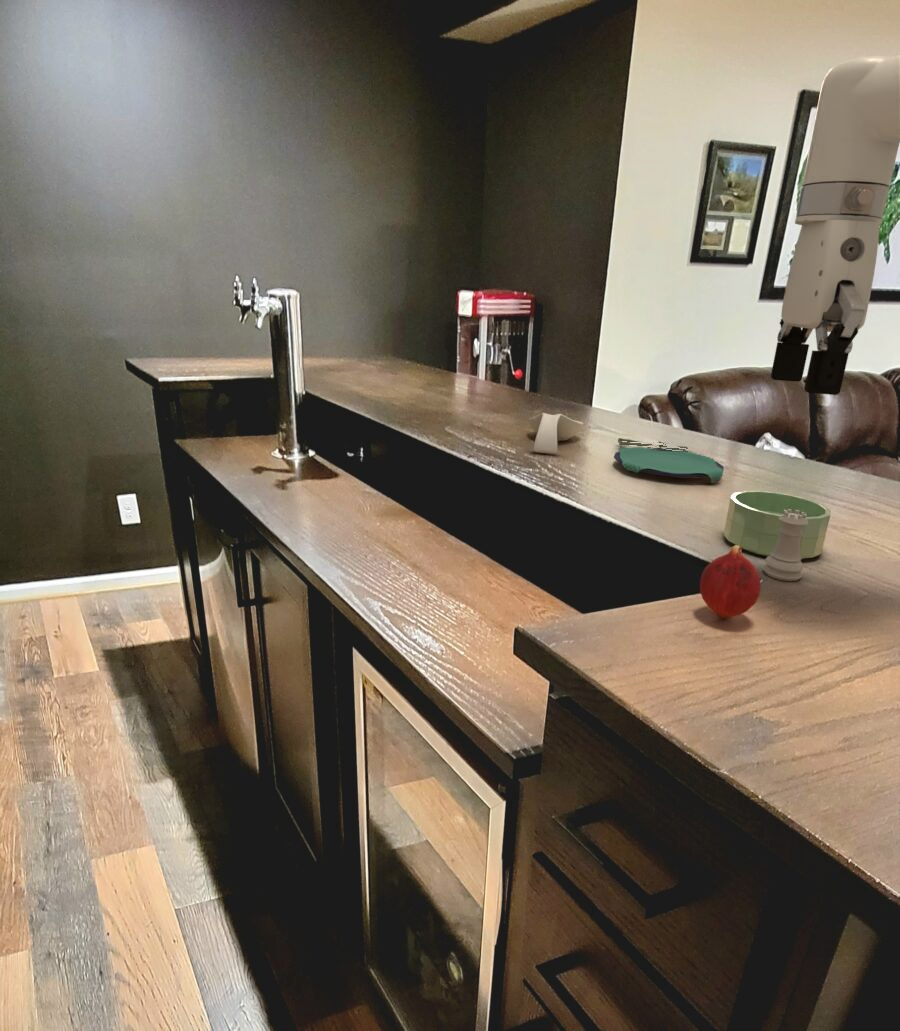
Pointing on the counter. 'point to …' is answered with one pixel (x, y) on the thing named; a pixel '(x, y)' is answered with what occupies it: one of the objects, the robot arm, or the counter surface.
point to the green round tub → (773, 521)
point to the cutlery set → (667, 461)
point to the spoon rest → (552, 431)
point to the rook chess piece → (787, 548)
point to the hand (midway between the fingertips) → (802, 386)
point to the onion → (730, 584)
